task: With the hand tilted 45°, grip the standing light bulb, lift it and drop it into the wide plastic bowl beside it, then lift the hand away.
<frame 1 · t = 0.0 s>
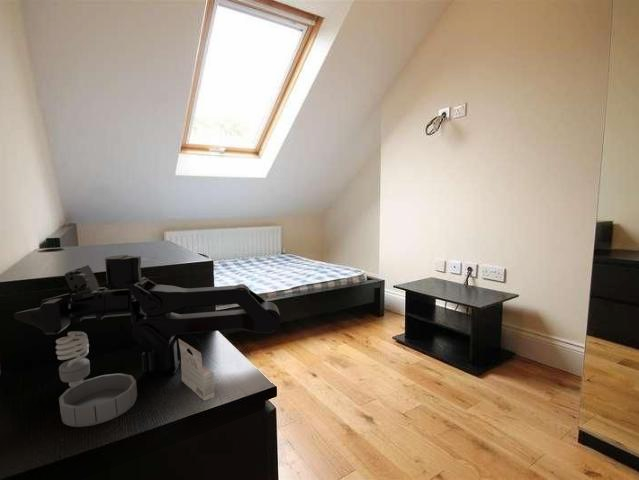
hand: (29, 308, 74), 17 cm above the cabinet, tool horizontal, fingers open, 9 cm apart
ink cartridge box: (197, 390, 73), on the cabinet
light bulb: (76, 388, 74), on the cabinet
bowl: (100, 406, 67), on the cabinet
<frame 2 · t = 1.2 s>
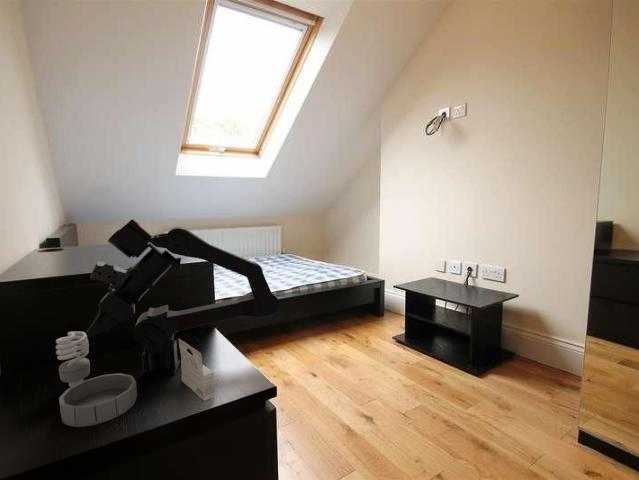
hand: (91, 328, 74), 12 cm above the cabinet, tool tilted 45°, fingers open, 9 cm apart
nothing on the cabinet moved.
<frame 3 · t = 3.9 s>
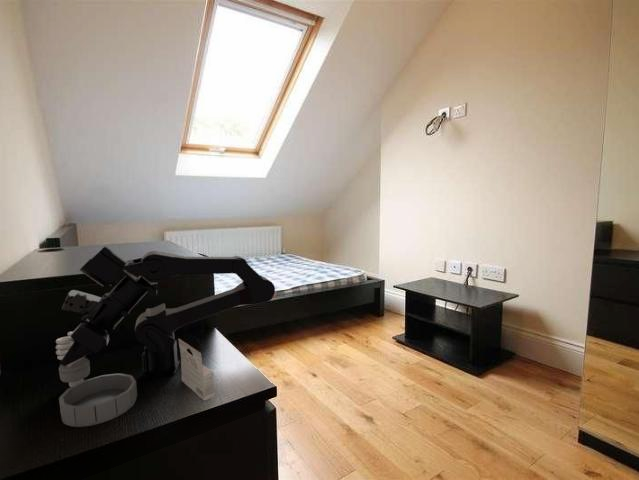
hand: (65, 358, 73), 7 cm above the cabinet, tool tilted 45°, fingers closed on light bulb, 5 cm apart
light bulb: (76, 388, 74), on the cabinet, touching gripper
everything else where it was.
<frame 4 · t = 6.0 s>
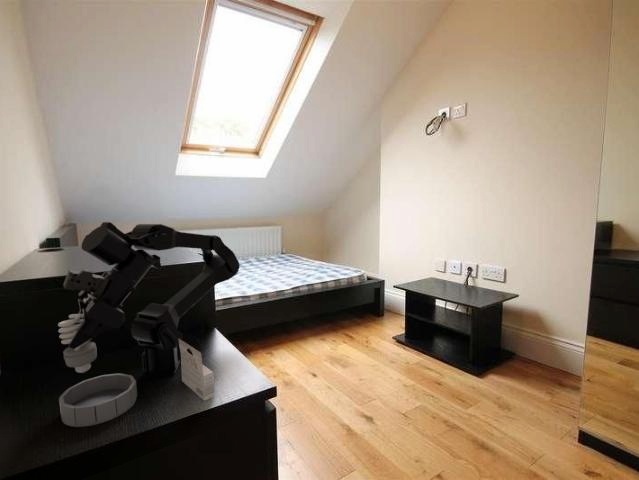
hand: (69, 343, 68), 12 cm above the cabinet, tool tilted 40°, fingers closed on light bulb, 5 cm apart
light bulb: (84, 373, 70), point 5 cm above the cabinet, touching gripper
everything else where it was.
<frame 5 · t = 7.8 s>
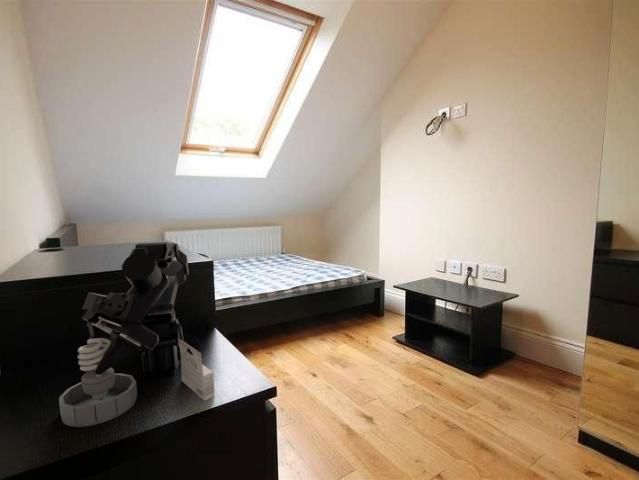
hand: (89, 369, 65), 8 cm above the cabinet, tool tilted 45°, fingers closed on light bulb, 5 cm apart
light bulb: (100, 400, 67), point 1 cm above the cabinet, touching gripper
everything else where it was.
when the fingers open (8 cm above the cabinet, at t = 8.5 s): light bulb stays where it is, resting on bowl.
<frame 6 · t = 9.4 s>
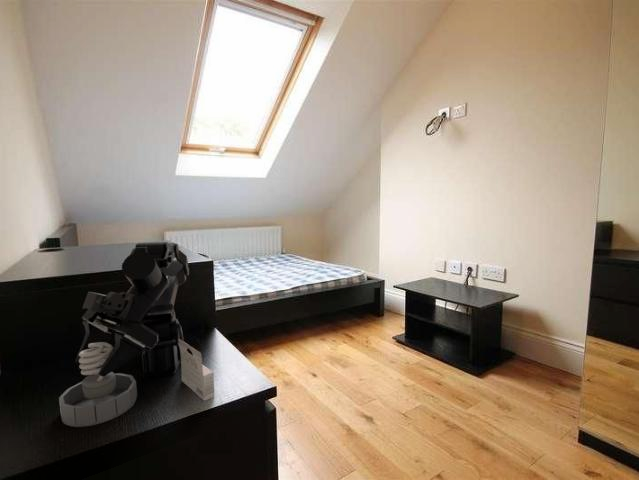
hand: (88, 369, 65), 8 cm above the cabinet, tool tilted 45°, fingers open, 9 cm apart
light bulb: (101, 405, 67), resting on bowl
everything else where it was.
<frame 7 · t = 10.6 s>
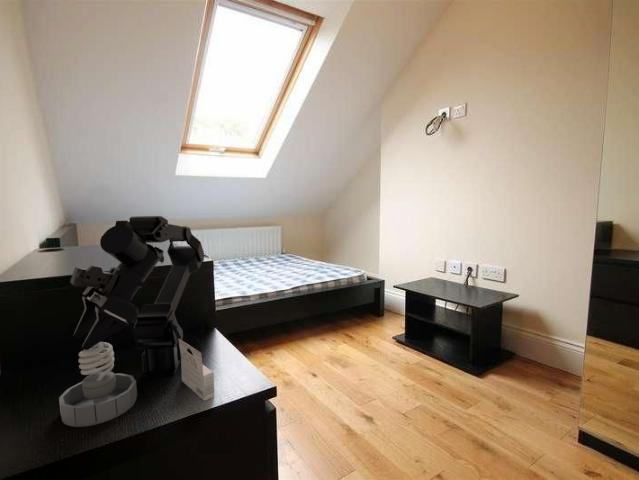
hand: (79, 342, 66), 13 cm above the cabinet, tool tilted 40°, fingers open, 9 cm apart
nothing on the cabinet moved.
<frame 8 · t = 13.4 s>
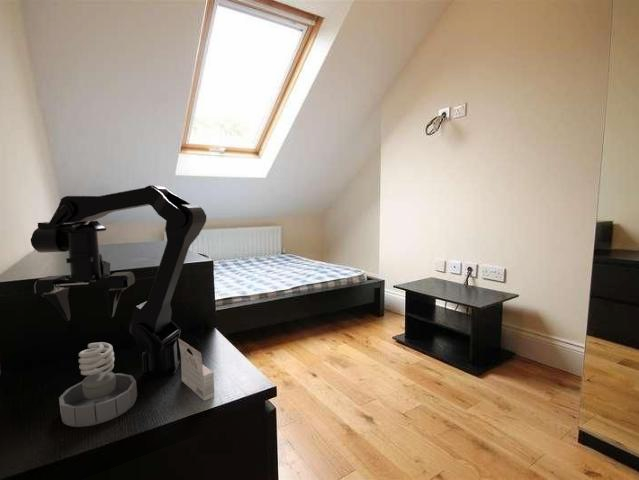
hand: (90, 318, 82), 12 cm above the cabinet, tool pointing down, fingers open, 9 cm apart
nothing on the cabinet moved.
at the end: light bulb inside the target area on the bowl (0.1 cm from its centre), point 0.3 cm above the bowl's base; the gripper is holding nothing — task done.
